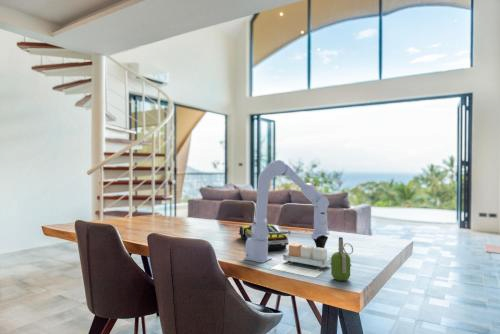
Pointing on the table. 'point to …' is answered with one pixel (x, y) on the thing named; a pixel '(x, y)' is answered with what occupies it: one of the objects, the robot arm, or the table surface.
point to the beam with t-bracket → (307, 261)
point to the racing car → (274, 237)
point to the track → (297, 270)
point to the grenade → (341, 263)
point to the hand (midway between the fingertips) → (320, 252)
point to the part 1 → (307, 252)
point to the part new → (295, 250)
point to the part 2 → (319, 254)
